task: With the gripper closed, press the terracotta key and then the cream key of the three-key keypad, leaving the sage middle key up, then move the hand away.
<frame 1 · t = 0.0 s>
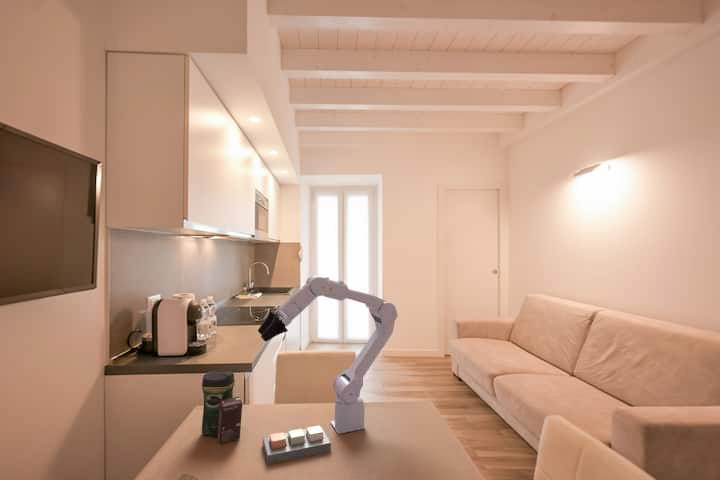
hand: (261, 336, 112), 32 cm above the table, tool tilted 50°, fingers open, 7 cm apart
sage key: (296, 438, 109), point 3 cm above the table, slide at 0.0 cm
box: (228, 438, 114), on the table, touching coffee jar
terracotta key: (277, 441, 107), point 3 cm above the table, slide at 0.0 cm
coffee jar: (218, 431, 118), on the table, touching box
cream key: (314, 434, 111), point 3 cm above the table, slide at 0.0 cm
keypad: (296, 448, 109), on the table
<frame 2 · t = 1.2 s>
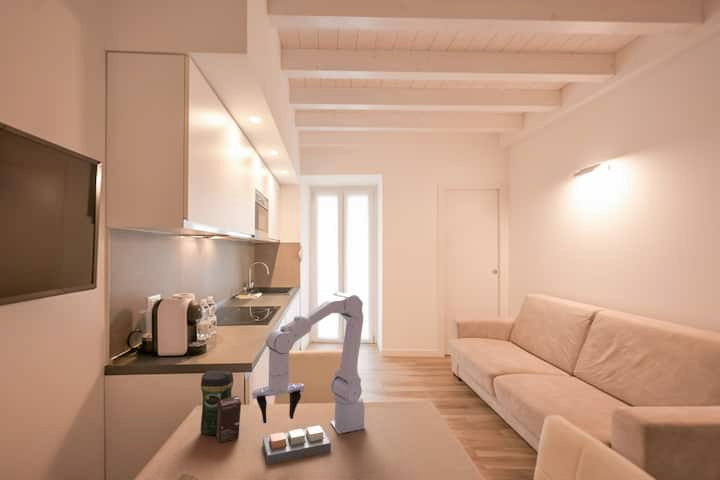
hand: (278, 419, 107), 9 cm above the table, tool pointing down, fingers open, 7 cm apart
box: (227, 438, 114), on the table, touching coffee jar
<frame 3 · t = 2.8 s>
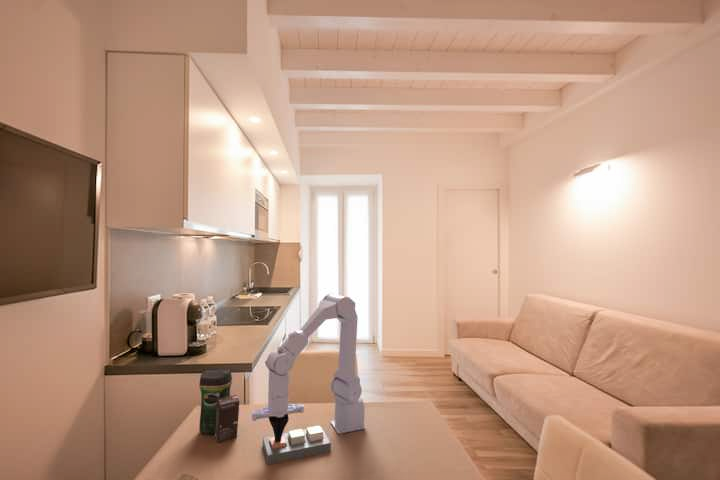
hand: (277, 440, 107), 3 cm above the table, tool pointing down, fingers closed, pressing on terracotta key
terracotta key: (277, 445, 107), point 2 cm above the table, slide at 1.0 cm, touching gripper
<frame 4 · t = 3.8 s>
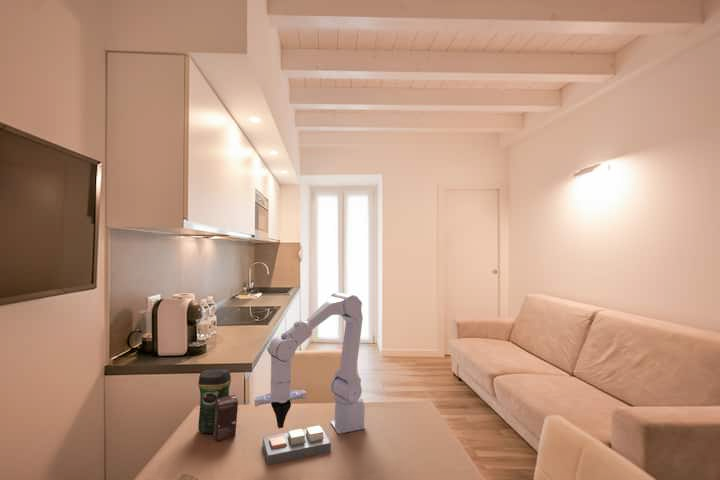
hand: (280, 426, 107), 7 cm above the table, tool pointing down, fingers closed
box: (224, 436, 115), on the table, touching coffee jar
terracotta key: (277, 445, 107), point 2 cm above the table, slide at 1.2 cm
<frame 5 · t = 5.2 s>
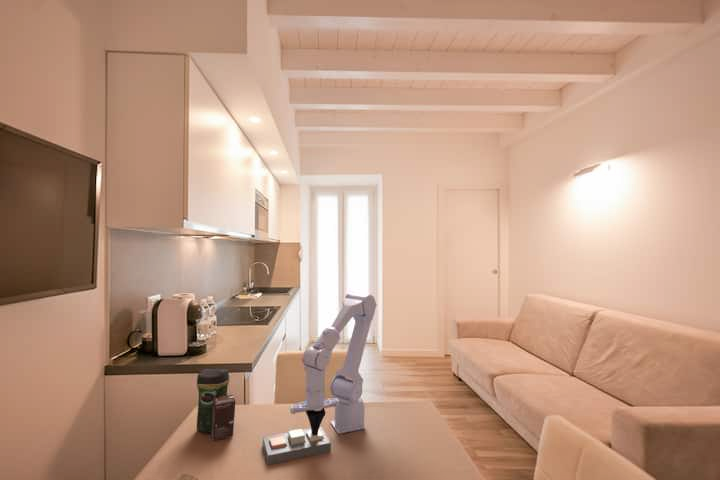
hand: (314, 433, 111), 3 cm above the table, tool pointing down, fingers closed, pressing on cream key
box: (222, 435, 115), on the table, touching coffee jar
cream key: (314, 438, 111), point 2 cm above the table, slide at 1.1 cm, touching gripper
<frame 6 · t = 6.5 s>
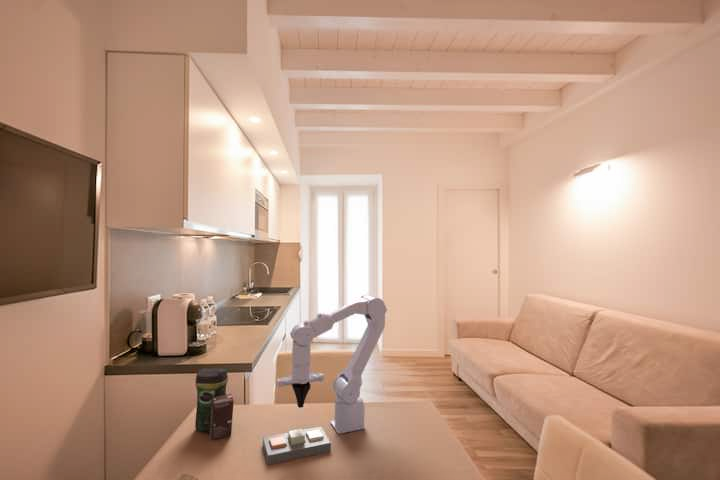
hand: (300, 406, 117), 9 cm above the table, tool pointing down, fingers closed
cream key: (314, 438, 111), point 2 cm above the table, slide at 1.2 cm
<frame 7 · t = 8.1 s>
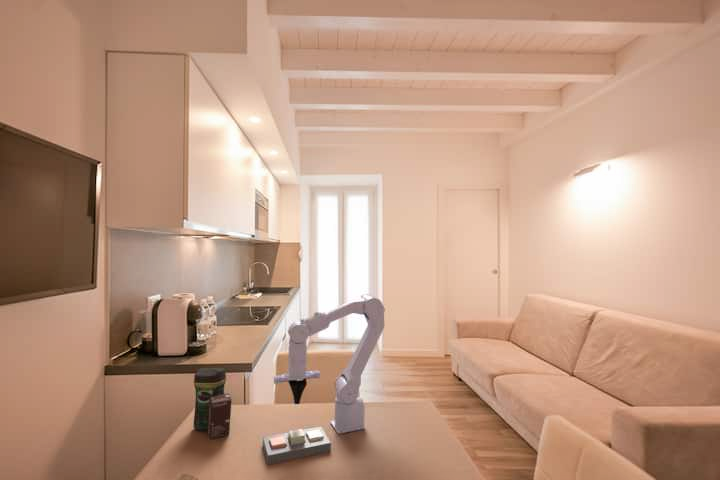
hand: (296, 402, 118), 9 cm above the table, tool pointing down, fingers closed
at the end: terracotta key slide at 1.2 cm; cream key slide at 1.2 cm; sage key slide at 0.0 cm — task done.
